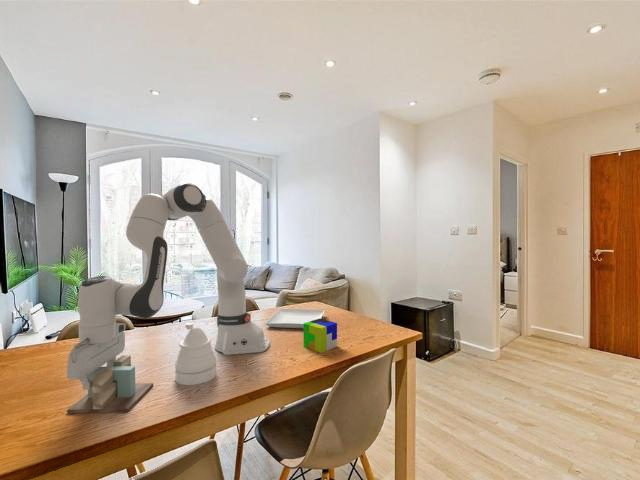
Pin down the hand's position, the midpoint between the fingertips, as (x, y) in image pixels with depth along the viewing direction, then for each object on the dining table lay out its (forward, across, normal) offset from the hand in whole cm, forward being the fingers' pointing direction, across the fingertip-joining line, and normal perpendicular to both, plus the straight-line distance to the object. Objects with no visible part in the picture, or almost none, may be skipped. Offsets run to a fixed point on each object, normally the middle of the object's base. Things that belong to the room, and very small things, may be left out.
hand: (99, 380), depth 92 cm
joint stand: (+6, 0, -4) cm, 7 cm away
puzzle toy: (+6, +39, -66) cm, 77 cm away
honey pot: (+6, +14, -23) cm, 28 cm away
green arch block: (+5, 0, -4) cm, 6 cm away
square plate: (+6, +74, -55) cm, 92 cm away
